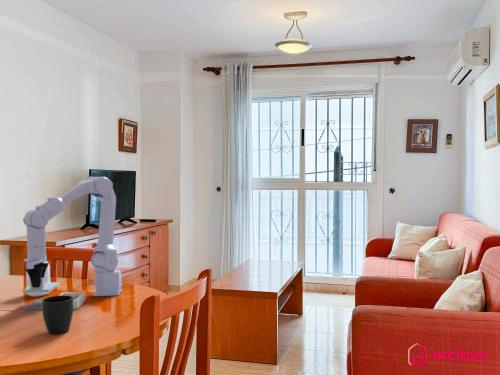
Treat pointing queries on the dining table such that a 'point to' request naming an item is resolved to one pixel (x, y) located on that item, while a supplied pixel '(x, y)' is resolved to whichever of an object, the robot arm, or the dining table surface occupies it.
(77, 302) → the tub
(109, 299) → the dining table surface
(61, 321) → the mug
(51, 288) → the lid
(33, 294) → the beverage can
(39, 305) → the mat
